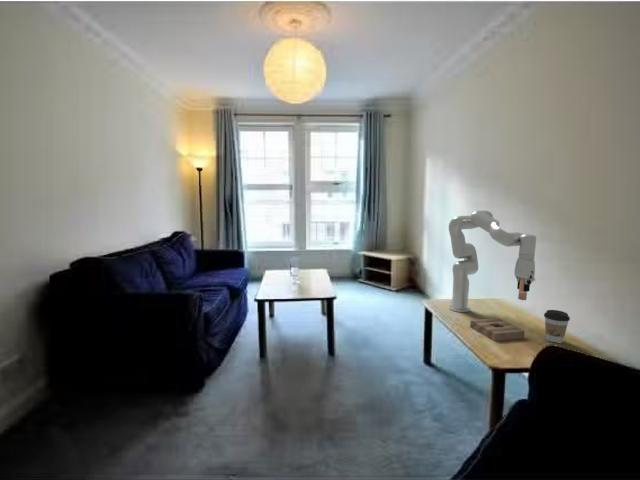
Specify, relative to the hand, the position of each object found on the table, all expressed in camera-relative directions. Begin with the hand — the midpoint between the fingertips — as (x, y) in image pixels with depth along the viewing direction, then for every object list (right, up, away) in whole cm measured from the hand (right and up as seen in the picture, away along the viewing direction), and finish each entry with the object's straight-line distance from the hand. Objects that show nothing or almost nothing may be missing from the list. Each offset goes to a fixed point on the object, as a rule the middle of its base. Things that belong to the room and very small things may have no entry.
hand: (523, 289), depth 209 cm
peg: (0, -5, +1) cm, 5 cm away
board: (-16, -23, -3) cm, 28 cm away
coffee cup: (+9, -25, -13) cm, 30 cm away
